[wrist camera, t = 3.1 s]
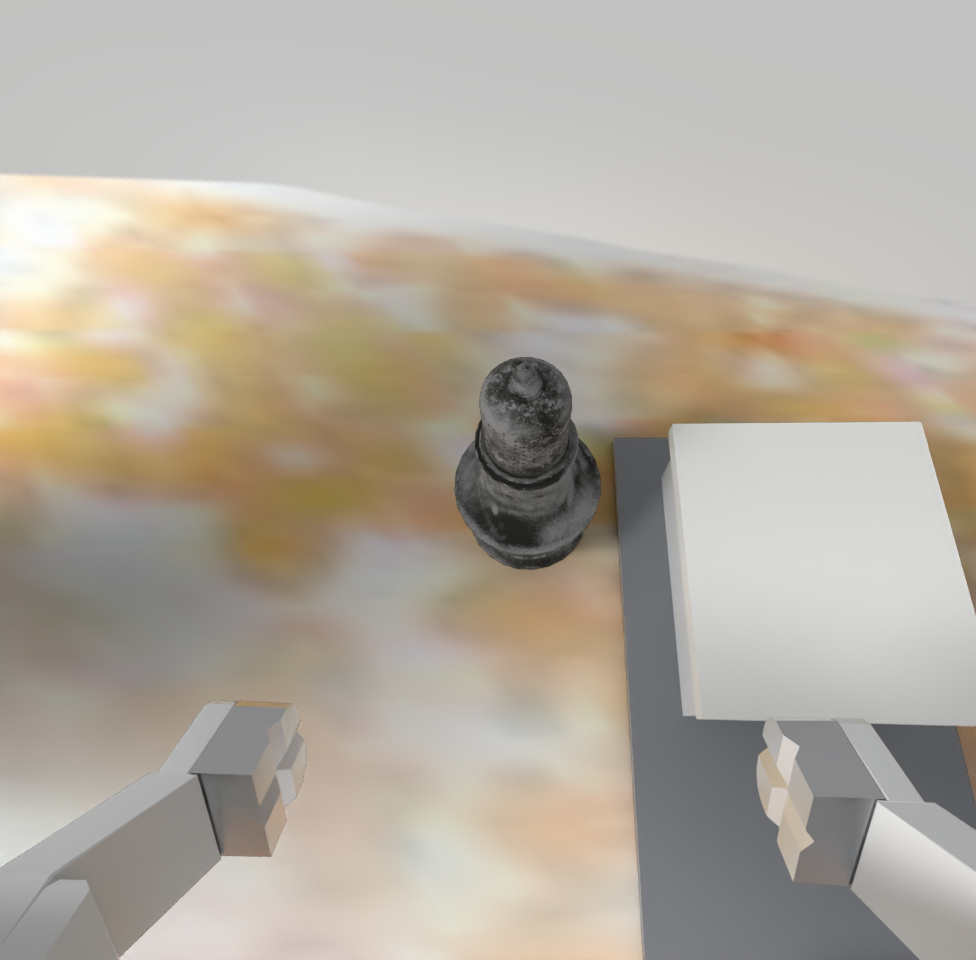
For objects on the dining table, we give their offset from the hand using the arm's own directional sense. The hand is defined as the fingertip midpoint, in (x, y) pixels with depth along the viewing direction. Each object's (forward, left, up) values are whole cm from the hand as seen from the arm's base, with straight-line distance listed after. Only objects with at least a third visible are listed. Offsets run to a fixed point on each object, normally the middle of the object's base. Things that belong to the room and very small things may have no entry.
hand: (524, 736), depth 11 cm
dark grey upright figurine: (0, +9, -15) cm, 17 cm away
